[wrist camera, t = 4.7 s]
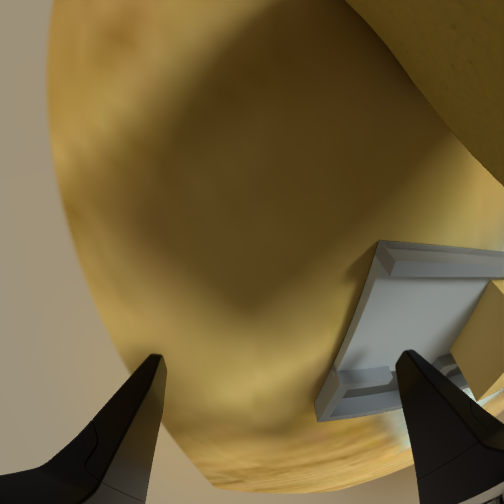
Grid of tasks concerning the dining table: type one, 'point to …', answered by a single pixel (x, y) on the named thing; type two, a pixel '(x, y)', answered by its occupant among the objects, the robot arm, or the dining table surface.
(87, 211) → the dining table surface
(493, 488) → the robot arm
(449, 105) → the flower pot
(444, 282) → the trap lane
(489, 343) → the ochre block
